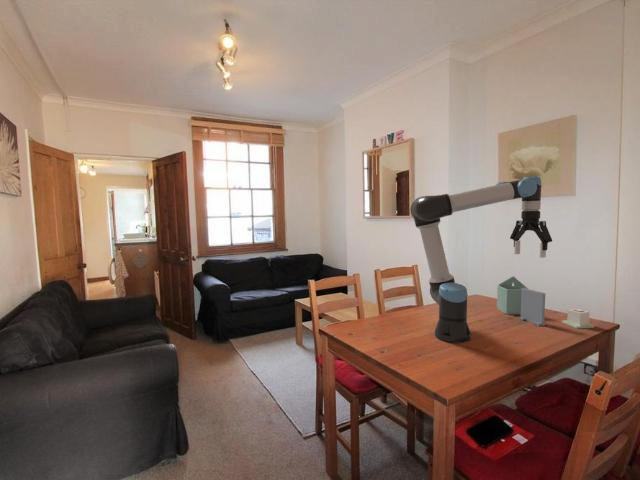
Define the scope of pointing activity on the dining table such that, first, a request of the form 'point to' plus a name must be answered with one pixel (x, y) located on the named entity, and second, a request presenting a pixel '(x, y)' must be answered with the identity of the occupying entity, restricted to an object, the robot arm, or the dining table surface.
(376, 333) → the dining table surface
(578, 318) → the letter cube
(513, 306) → the planter
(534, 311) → the board
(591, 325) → the pad
